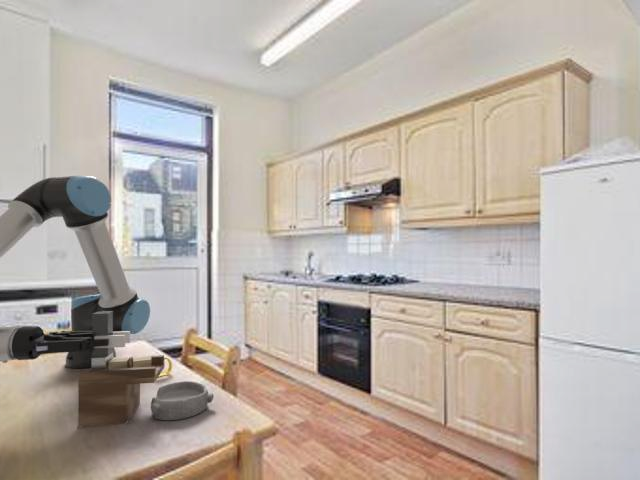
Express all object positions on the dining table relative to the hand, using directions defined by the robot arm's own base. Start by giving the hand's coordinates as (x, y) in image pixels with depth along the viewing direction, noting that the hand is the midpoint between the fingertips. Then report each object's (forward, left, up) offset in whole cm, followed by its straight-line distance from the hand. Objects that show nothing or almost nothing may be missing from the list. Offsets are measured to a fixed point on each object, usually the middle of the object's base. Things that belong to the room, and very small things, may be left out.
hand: (127, 338), depth 99 cm
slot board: (-1, -1, -18) cm, 18 cm away
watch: (-29, +2, -18) cm, 34 cm away
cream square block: (-1, -2, -8) cm, 8 cm away
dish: (-1, +12, -18) cm, 22 cm away
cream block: (-1, +3, -8) cm, 9 cm away
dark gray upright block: (0, -5, -7) cm, 9 cm away
